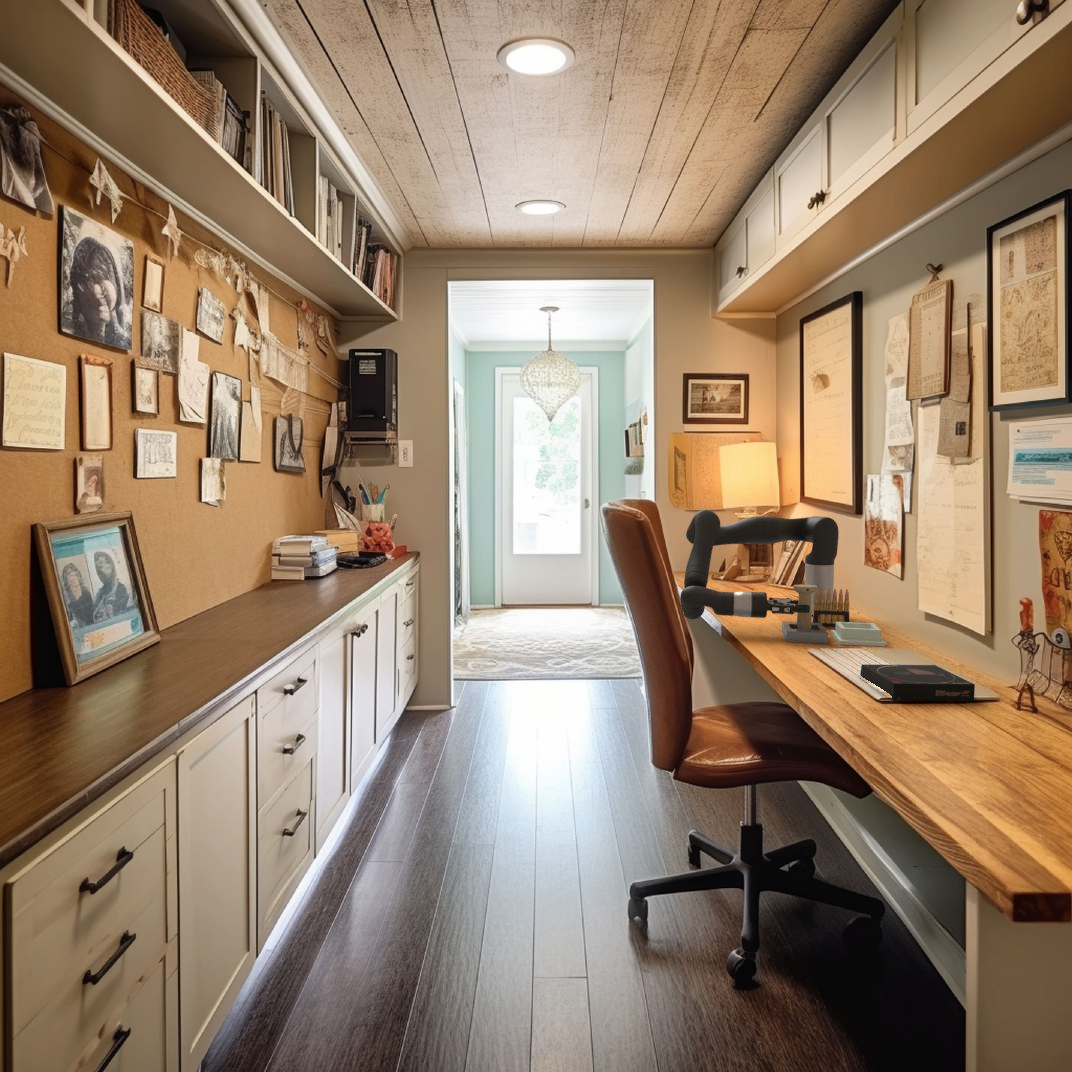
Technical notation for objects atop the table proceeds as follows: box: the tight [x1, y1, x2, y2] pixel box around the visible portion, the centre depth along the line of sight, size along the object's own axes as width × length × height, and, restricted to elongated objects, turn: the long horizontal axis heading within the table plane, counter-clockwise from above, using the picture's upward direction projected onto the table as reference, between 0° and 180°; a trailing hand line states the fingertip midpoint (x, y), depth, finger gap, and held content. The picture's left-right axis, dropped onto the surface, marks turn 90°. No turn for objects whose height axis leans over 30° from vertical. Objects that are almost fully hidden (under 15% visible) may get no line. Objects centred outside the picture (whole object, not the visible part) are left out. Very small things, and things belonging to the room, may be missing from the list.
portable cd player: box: [859, 663, 976, 702], centre depth 165 cm, size 16×17×4 cm
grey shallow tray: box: [830, 621, 887, 648], centre depth 217 cm, size 16×12×4 cm
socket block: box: [781, 620, 829, 645], centre depth 220 cm, size 16×11×3 cm
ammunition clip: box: [812, 588, 850, 628], centre depth 236 cm, size 11×2×12 cm, turn 76°
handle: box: [793, 584, 817, 630], centre depth 220 cm, size 5×6×15 cm
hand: (807, 606), depth 219 cm, fingers open, 8 cm apart
